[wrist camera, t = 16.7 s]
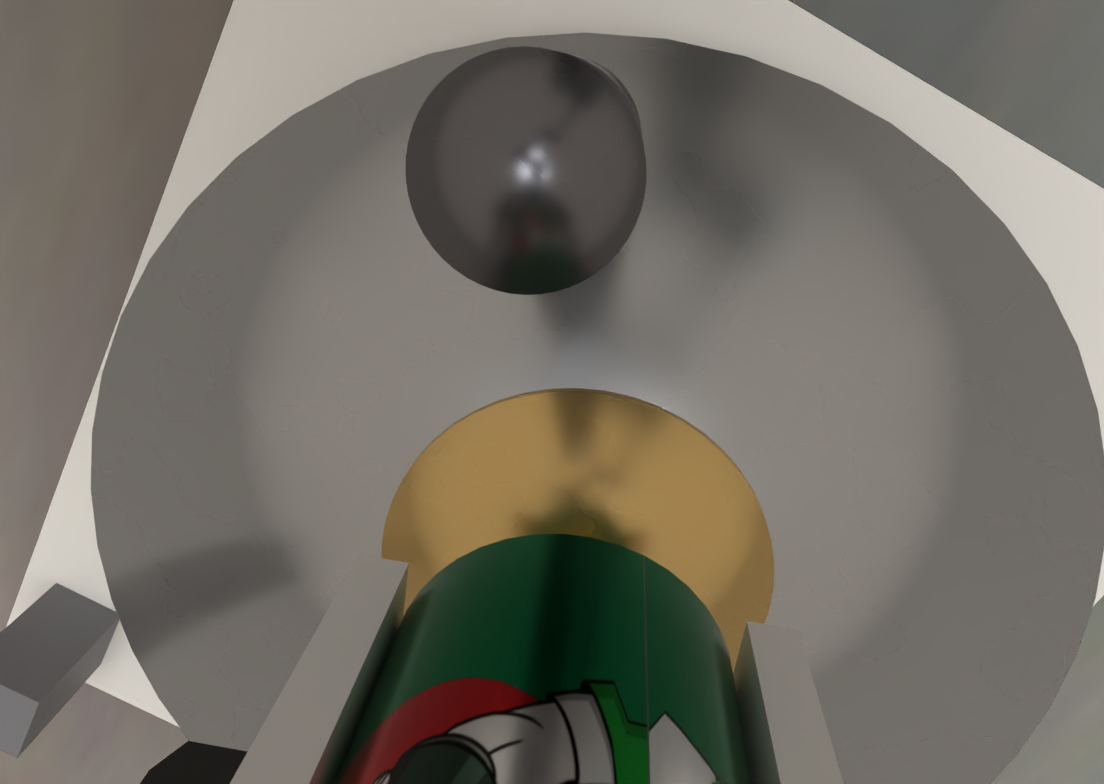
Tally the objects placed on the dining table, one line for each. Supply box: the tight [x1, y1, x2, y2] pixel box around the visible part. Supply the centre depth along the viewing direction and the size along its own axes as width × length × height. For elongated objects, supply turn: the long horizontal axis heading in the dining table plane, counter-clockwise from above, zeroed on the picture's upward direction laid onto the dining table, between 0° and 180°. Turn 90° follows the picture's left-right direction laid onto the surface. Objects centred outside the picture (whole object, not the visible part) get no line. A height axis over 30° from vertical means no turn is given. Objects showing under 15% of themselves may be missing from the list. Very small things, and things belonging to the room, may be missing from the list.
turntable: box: [91, 33, 1104, 784], centre depth 15 cm, size 18×18×7 cm
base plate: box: [0, 0, 1104, 758], centre depth 17 cm, size 20×20×4 cm
